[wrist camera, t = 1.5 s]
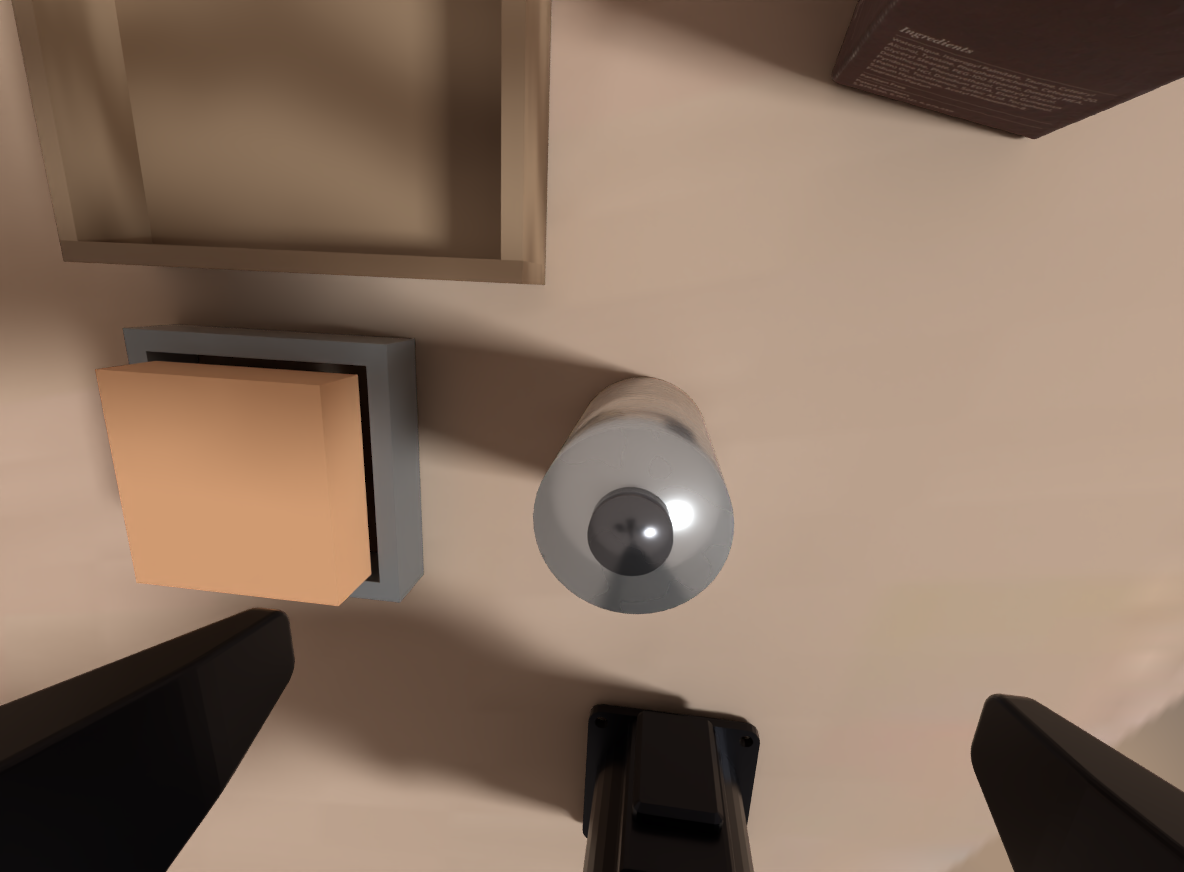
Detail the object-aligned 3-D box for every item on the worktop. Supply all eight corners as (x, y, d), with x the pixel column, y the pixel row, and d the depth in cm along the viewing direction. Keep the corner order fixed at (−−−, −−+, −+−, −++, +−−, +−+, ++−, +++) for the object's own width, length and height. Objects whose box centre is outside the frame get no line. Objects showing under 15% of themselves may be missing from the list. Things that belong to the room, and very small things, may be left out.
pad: (371, 574, 19) (338, 606, 17) (187, 553, 20) (136, 582, 18) (357, 374, 17) (319, 385, 15) (155, 360, 18) (94, 369, 16)
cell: (700, 506, 19) (725, 640, 12) (576, 495, 20) (525, 617, 12) (713, 381, 18) (750, 444, 11) (580, 372, 18) (528, 428, 11)
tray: (544, 285, 18) (522, 283, 15) (153, 265, 19) (63, 261, 16) (554, -136, 15) (528, -239, 12) (91, -121, 16) (-31, -209, 13)
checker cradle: (423, 574, 21) (399, 602, 19) (209, 551, 22) (166, 576, 20) (414, 338, 19) (386, 344, 17) (175, 324, 20) (122, 327, 18)
